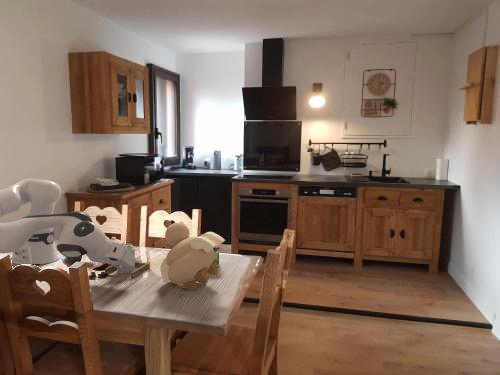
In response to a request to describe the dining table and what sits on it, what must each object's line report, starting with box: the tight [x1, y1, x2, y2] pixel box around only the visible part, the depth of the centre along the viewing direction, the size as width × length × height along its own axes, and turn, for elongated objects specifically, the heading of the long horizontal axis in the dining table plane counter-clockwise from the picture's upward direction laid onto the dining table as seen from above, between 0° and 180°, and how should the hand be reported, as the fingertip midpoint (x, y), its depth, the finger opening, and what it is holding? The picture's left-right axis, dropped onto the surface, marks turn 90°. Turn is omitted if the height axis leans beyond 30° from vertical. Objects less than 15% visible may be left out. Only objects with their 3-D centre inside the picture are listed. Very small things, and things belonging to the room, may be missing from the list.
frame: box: [104, 260, 151, 279], centre depth 167 cm, size 14×13×2 cm
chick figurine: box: [159, 220, 226, 293], centre depth 151 cm, size 30×28×23 cm
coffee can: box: [197, 232, 220, 267], centre depth 177 cm, size 10×10×14 cm
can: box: [116, 243, 136, 275], centre depth 166 cm, size 8×8×12 cm
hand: (119, 265), depth 160 cm, fingers closed
